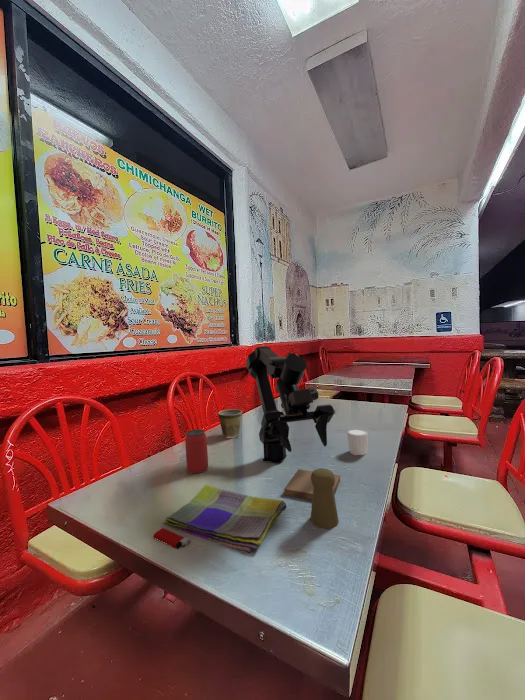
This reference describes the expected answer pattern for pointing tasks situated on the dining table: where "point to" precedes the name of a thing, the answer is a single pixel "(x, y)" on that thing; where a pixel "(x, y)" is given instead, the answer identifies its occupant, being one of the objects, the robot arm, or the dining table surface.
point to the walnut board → (304, 485)
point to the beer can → (196, 451)
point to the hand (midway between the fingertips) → (308, 448)
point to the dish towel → (227, 517)
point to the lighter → (171, 538)
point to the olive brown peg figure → (323, 499)
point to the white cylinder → (357, 441)
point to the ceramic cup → (230, 422)
